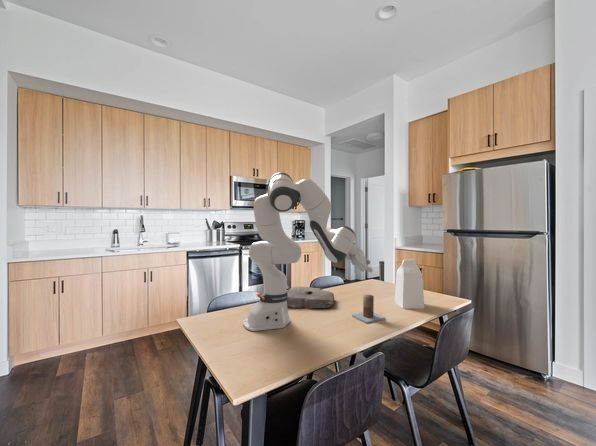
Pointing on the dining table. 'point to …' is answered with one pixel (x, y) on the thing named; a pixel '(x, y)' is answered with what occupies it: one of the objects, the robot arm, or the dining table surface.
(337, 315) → the dining table surface
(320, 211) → the robot arm
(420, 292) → the milk
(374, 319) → the mat
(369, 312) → the roller
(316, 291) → the stone slab
